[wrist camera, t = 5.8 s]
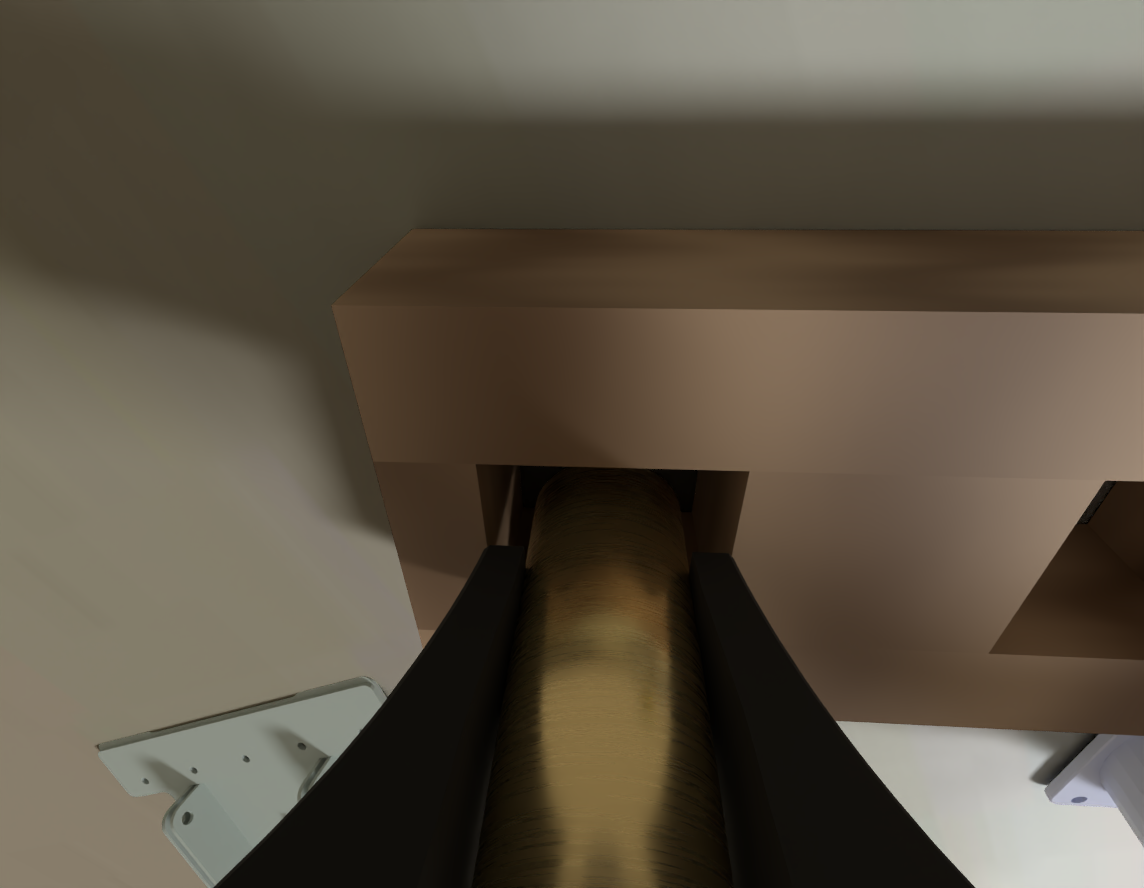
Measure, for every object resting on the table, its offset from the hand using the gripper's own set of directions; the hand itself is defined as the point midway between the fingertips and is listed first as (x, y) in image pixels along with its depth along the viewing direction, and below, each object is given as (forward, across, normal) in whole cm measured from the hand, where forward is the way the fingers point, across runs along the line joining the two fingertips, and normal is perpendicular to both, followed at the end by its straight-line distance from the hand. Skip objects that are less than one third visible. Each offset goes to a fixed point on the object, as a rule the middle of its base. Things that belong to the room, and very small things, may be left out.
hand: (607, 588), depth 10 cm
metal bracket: (+5, +12, +20) cm, 24 cm away
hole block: (+5, -5, 0) cm, 7 cm away
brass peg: (+2, 0, 0) cm, 2 cm away
